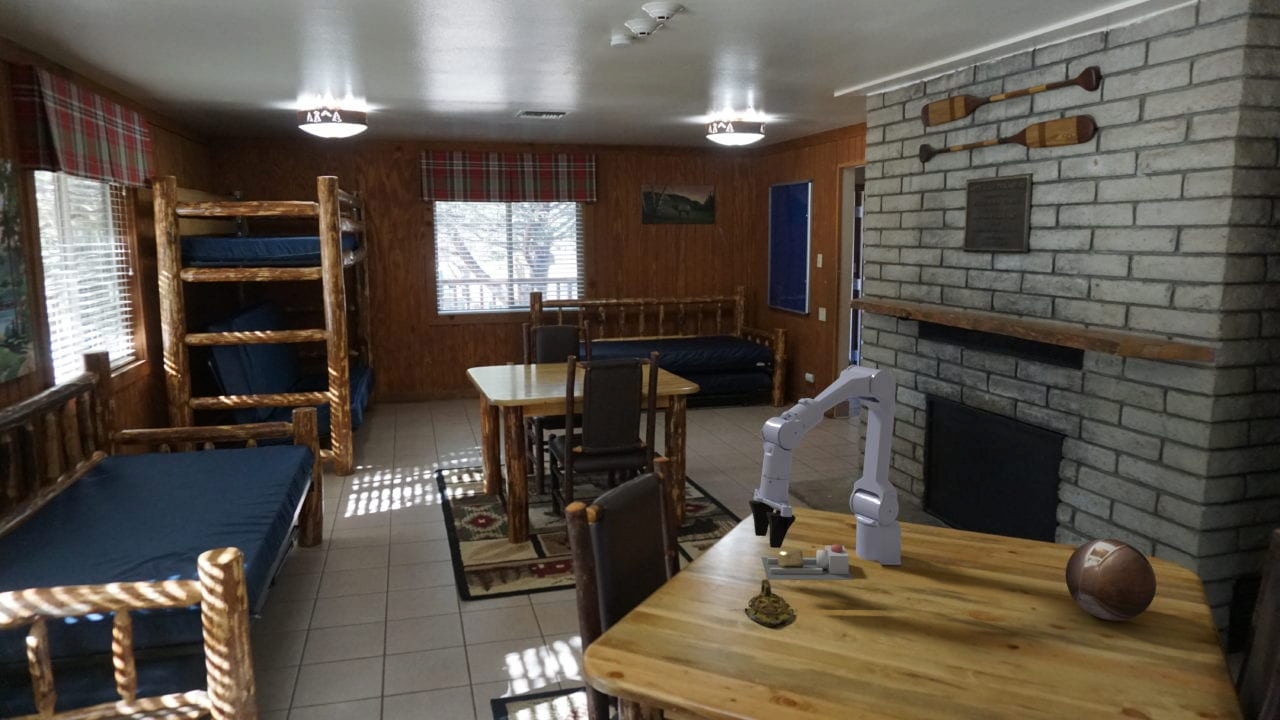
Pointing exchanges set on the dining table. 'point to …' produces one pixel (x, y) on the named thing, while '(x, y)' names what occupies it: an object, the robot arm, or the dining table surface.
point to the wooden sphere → (1110, 579)
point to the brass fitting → (790, 559)
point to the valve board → (814, 566)
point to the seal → (769, 608)
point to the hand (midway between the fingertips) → (767, 541)
